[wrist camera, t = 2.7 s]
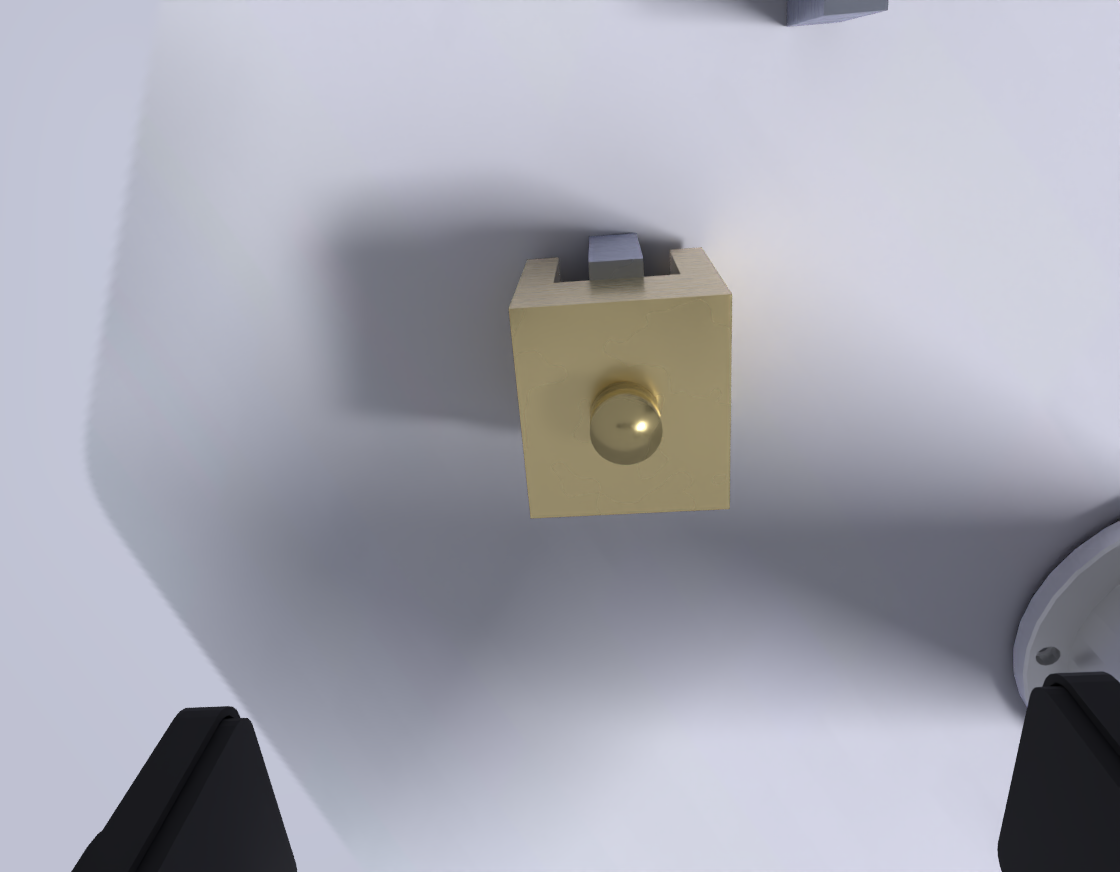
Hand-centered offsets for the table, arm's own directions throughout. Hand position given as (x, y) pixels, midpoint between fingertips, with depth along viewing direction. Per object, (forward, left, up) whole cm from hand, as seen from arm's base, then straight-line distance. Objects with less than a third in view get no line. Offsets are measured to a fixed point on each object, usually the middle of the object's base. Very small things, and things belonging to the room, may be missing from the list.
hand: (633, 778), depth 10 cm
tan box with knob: (0, 0, -18) cm, 18 cm away
